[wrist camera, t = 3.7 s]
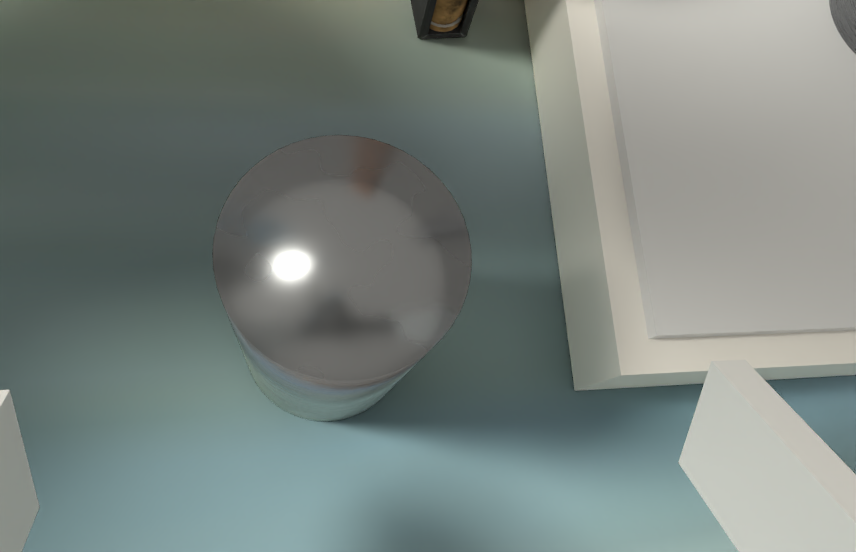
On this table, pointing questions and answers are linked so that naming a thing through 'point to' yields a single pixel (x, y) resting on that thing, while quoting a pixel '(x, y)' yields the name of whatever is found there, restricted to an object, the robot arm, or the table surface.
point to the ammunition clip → (443, 17)
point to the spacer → (339, 271)
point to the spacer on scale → (845, 20)
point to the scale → (699, 186)
